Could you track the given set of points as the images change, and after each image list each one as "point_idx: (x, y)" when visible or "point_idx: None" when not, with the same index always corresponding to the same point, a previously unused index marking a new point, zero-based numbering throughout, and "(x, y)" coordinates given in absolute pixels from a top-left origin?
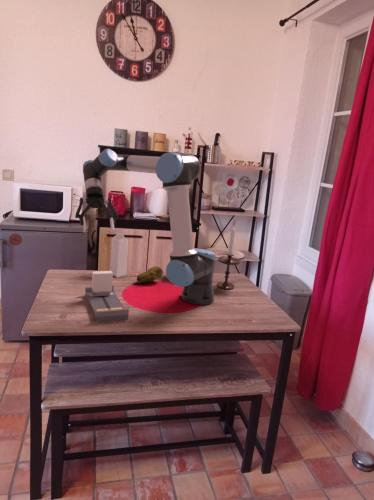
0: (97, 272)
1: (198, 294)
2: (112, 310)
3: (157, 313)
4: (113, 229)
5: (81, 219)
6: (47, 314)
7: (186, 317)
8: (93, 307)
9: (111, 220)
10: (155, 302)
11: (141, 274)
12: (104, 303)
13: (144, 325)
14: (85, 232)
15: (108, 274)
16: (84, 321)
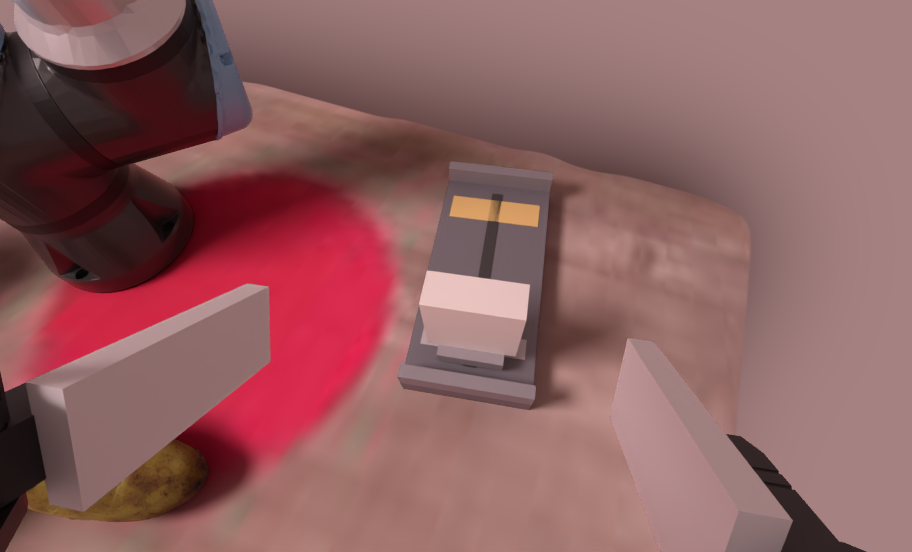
0: (502, 300)
1: (153, 174)
2: (502, 168)
3: (347, 187)
4: (259, 287)
5: (785, 504)
6: (696, 285)
7: (287, 146)
8: (542, 244)
9: (142, 354)
10: (295, 255)
11: (165, 464)
12: (493, 260)
13: (426, 144)
14: (611, 411)
15: (450, 277)
16: (582, 209)
